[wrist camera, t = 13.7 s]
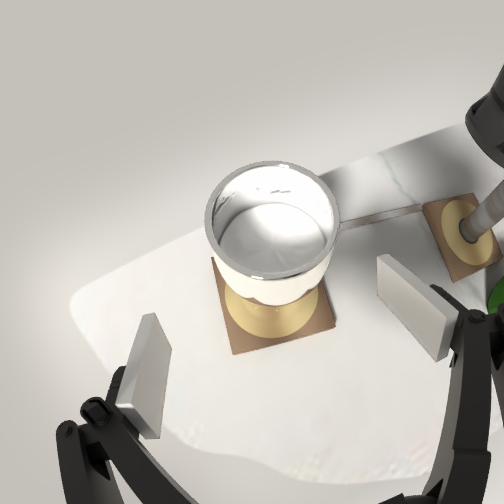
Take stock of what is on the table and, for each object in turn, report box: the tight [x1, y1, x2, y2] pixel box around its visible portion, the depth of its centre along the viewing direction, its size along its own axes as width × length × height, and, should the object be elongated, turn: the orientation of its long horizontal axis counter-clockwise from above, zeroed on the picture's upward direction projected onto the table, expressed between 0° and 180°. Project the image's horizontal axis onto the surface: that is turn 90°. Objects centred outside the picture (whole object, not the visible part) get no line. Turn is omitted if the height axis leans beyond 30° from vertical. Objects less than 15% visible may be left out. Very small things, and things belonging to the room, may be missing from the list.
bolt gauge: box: [211, 180, 504, 355], centre depth 23 cm, size 36×11×13 cm, turn 104°
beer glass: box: [205, 161, 340, 322], centre depth 21 cm, size 7×7×15 cm
